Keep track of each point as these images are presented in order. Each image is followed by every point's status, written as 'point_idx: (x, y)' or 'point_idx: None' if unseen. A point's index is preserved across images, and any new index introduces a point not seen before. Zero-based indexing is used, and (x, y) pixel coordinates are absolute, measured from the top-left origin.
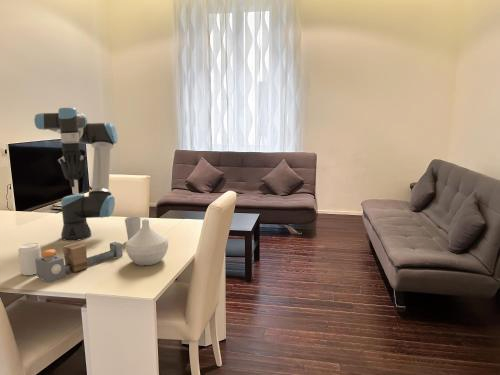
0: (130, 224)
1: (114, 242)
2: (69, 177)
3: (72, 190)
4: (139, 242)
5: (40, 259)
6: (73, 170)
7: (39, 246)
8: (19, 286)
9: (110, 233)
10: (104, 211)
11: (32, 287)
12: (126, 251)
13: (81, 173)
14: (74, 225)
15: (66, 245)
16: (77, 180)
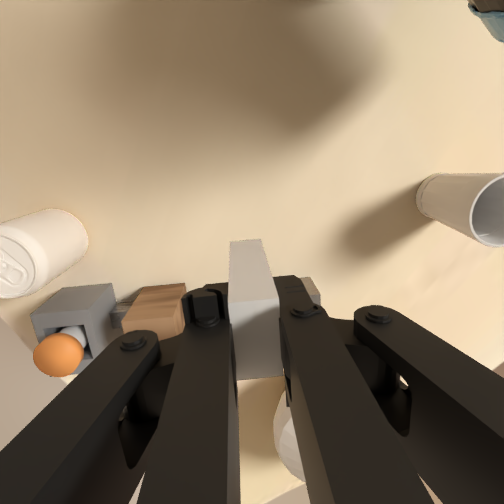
0: (460, 228)
1: (314, 299)
2: (155, 425)
3: (230, 254)
4: (298, 472)
5: (43, 331)
6: (309, 417)
7: (43, 278)
8: (10, 311)
9: (467, 3)
10: (497, 33)
11: (37, 341)
12: (276, 411)
13: (398, 431)
14: None
15: (133, 320)
16: (281, 369)
